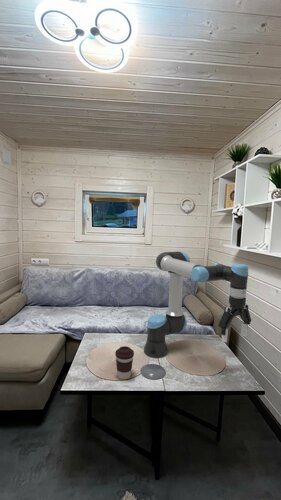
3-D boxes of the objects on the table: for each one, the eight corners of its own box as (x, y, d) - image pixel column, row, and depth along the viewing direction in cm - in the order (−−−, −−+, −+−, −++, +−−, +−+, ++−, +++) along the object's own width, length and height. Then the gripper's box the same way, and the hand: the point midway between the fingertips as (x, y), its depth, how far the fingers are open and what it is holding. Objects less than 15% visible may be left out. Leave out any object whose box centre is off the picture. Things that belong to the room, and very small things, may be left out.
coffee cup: (124, 383, 128) (124, 356, 126) (110, 375, 134) (111, 349, 133) (136, 375, 135) (137, 349, 134) (123, 368, 142) (124, 342, 140)
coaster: (136, 368, 142) (136, 367, 142) (156, 362, 149) (156, 361, 149) (148, 382, 130) (148, 381, 130) (170, 375, 136) (170, 374, 136)
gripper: (224, 301, 110) (221, 347, 113) (261, 295, 122) (257, 337, 125) (212, 296, 117) (209, 340, 119) (248, 291, 129) (245, 331, 131)
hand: (234, 338), depth 122 cm, fingers open, 13 cm apart
